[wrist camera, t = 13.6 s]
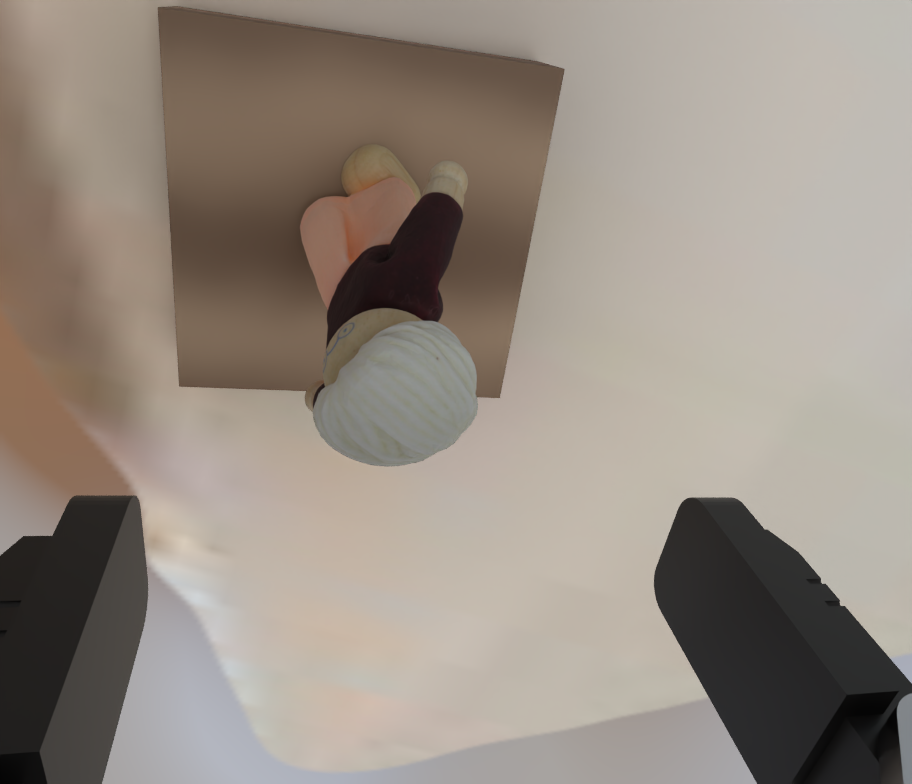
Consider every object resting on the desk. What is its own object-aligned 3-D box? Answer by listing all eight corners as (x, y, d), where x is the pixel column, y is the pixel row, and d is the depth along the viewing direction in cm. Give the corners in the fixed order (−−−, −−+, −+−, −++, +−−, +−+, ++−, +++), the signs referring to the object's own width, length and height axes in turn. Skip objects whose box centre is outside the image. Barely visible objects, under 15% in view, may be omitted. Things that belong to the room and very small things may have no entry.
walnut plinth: (176, 6, 22) (158, 7, 19) (538, 61, 24) (564, 69, 22) (191, 349, 27) (179, 386, 25) (483, 363, 30) (499, 397, 27)
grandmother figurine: (332, 92, 21) (354, 195, 10) (450, 135, 22) (581, 268, 11) (274, 317, 24) (242, 580, 13) (379, 344, 25) (428, 604, 14)
